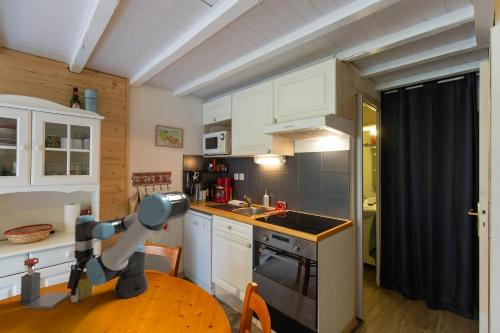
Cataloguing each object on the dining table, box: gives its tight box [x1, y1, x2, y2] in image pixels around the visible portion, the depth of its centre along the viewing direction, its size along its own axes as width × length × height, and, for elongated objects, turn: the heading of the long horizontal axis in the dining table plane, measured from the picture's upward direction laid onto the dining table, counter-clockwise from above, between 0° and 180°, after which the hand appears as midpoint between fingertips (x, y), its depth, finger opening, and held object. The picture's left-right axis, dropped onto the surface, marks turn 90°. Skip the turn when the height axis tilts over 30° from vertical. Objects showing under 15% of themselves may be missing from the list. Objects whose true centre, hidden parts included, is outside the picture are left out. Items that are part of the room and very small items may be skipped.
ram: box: [23, 257, 40, 276], centre depth 108 cm, size 5×5×13 cm
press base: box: [18, 271, 71, 310], centre depth 108 cm, size 16×11×12 cm, turn 91°
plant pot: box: [77, 270, 95, 300], centre depth 113 cm, size 10×10×10 cm
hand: (82, 295), depth 113 cm, fingers closed on plant pot, 10 cm apart
